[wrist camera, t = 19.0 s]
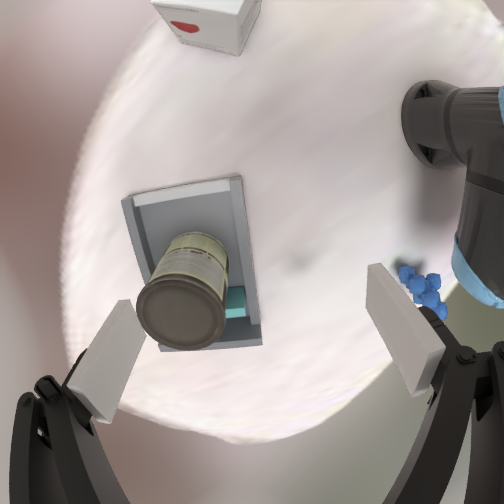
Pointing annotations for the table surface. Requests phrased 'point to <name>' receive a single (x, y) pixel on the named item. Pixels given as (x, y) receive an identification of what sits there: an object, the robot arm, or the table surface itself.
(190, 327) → the coffee can
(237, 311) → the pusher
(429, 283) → the grapes
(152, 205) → the lane
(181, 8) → the supplement box
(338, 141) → the table surface
